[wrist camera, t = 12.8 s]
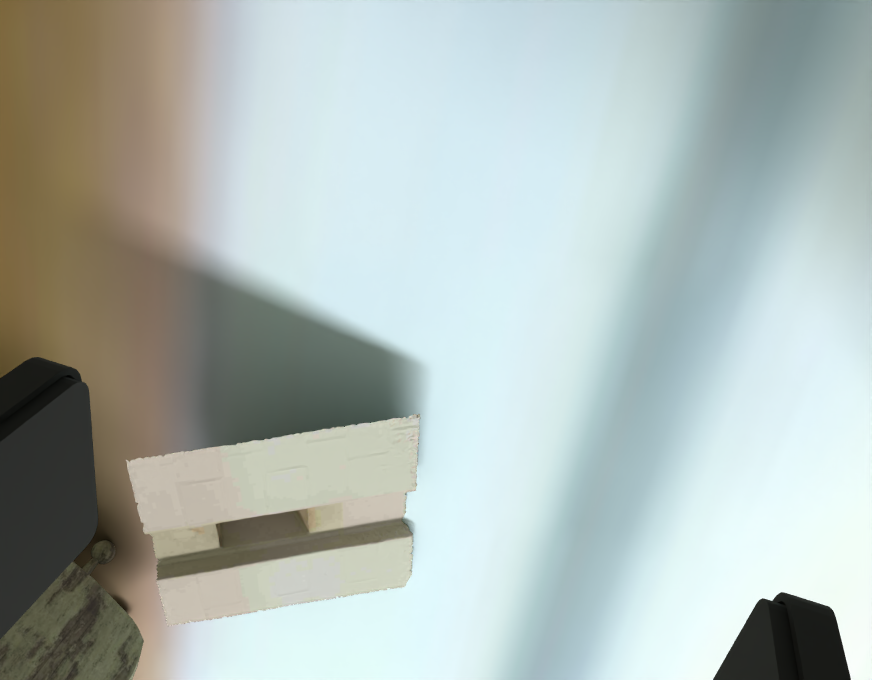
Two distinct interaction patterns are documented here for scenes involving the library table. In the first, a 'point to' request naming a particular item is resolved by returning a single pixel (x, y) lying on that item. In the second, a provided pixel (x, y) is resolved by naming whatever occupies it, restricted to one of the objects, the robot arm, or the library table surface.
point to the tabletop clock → (73, 631)
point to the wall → (279, 519)
